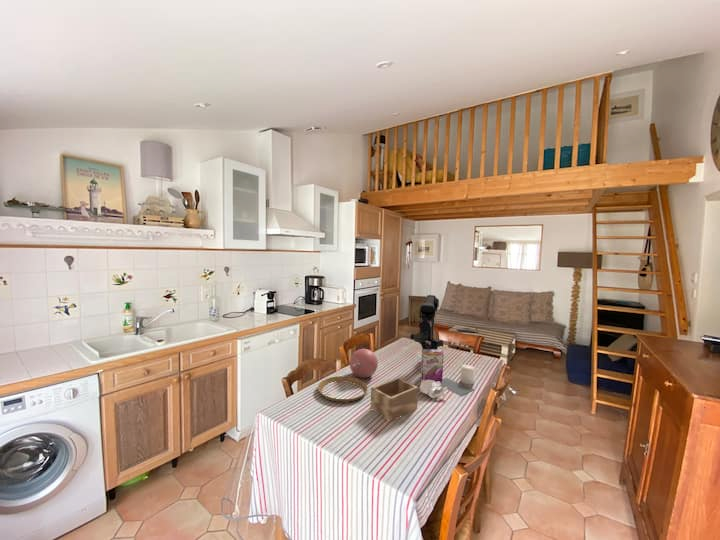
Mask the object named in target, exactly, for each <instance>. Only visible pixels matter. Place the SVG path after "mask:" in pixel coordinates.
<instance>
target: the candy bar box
mask: <svg viewBox="0 0 720 540" xmlns="http://www.w3.org/2000/svg"><path fill="white" fill-rule="evenodd" d="M420 367H421V369H420V376H421V381H422V380H424V381H425V380H433V381H435V382H437V381H442V379H443V372H444V350H443V349H438V350H434V349H422V348H421V364H420Z"/></svg>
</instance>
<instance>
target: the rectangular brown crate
mask: <svg viewBox="0 0 720 540" xmlns="http://www.w3.org/2000/svg"><path fill="white" fill-rule="evenodd" d="M418 393H419V386H417V385H414V384H412V383H410V382H408V381H406V380H404V379H401V378H400V377H397V378H394V379H392V380H388V381H385V382H384V383H380V384H378V385H375V386H373V387H371V389H370V410H371V409H373V410H374V411H376V412H377V413H379V414H380V415H382V416H383V417H385V418H386V419H388V420H389V421H391V420H393V419H396V418H398V417H400V416H402V417H403V416H404V415H407V414H408V413H410V412H413V411H414V410H417V409H418V396H419V394H418ZM374 411H373V412H374ZM377 413H376V414H377ZM380 415H379V416H380ZM383 417H382V418H383ZM400 418H401V417H400ZM386 419H385V420H386ZM398 419H399V418H398ZM396 420H397V419H396ZM389 421H388V422H389Z"/></svg>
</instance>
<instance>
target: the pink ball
mask: <svg viewBox="0 0 720 540" xmlns="http://www.w3.org/2000/svg"><path fill="white" fill-rule="evenodd" d="M378 363H379V362H378V357H377V356H376V354H375V353H374V352H373V351H372V350H370V349H367V348H359V349H357V350H355V351H354V352H353V353H352V354H351V356H350V359H349V368H350V370H351V372H352V374H353V375H355V376H356V377H358V378H361V379H365V378H366V379H367V378H369V377H371V376H373V375H374V374H375V373H376V371H377V370H378Z"/></svg>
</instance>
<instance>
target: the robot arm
mask: <svg viewBox="0 0 720 540" xmlns="http://www.w3.org/2000/svg"><path fill="white" fill-rule="evenodd" d="M439 307H440V300H439V299H438V297H436V295H434V294H433V295H432V294H428V295H427V296H426V298H424V302H423V303H422V304H421V305H420V309H419V315H418V317H419V319H421V321H420V323H419V327H418V328H419V331H418V332H414V333H411V334H410V337H409V338H410V340H413V341H414V342H415V343H419V344H420V346H421V350H422V349H434V350H439V349H438V348H439V347H442V346H443V347H444V341H443V339H438V338H435V337H434V335H435V334H434V333H435V332H434V331H435V317H436V313H437V311H438V309H439Z"/></svg>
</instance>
